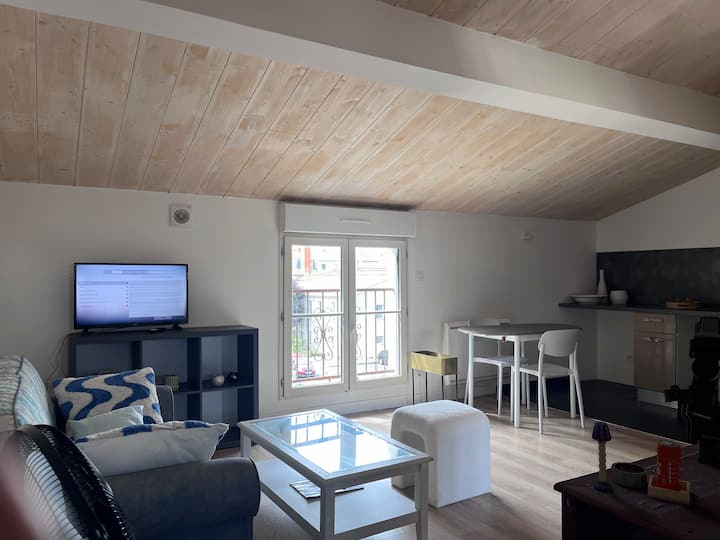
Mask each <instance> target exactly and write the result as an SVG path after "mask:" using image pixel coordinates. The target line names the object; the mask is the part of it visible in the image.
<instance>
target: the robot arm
mask: <svg viewBox="0 0 720 540" xmlns="http://www.w3.org/2000/svg"><path fill="white" fill-rule="evenodd" d="M688 351H689V352H688V358H689V359H694V360H693V361H692V363H691V371H692V373H693V374H692V378H691V383H690V384H689V385H688V386H687V388H681V387H680V386H679V385H678V384H673V385H670V386H669V389H663V396H664V397H663V398H664V402H665V403H672V402H684V404H682V405H681V410H680V412H681V416H683V418H684V420H685V421H686V442H687V443H688V444H692V445H694V446H695V445H697V444H698V445H697V446H698V447H697V448H698V451H697V453H696V462H698V463H702V464H703V463H705V464H711V465H716V466H720V406H719V383H720V317H719V316H715V315H714V316H713V315H710V316H709V315H703V316H700V318H699V321H697V322H695V324H694V334H693V338H690V341H689V350H688Z"/></svg>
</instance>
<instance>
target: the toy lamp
mask: <svg viewBox="0 0 720 540" xmlns="http://www.w3.org/2000/svg"><path fill="white" fill-rule="evenodd" d="M591 439H592V440H594V441H597V444H598V447H597V449H598V453H597V454H598V469H599V470H598V475H599V476H598V480H597V481H596V482H595V483H594V485H593V488H594V489H595V490H596V491H599V492H602V491H603V492H604V493H610V492H612V491H613V486H612V485H611V484H610V483H611V482H609V481H607V479H608V478H607V458H606V457H607V453H606V452H607V447H606V444H607V442H611V441H612V434H611V431H610V428H609V425H608V422H605V421H595V422H594V424H593V428H592V433H591Z"/></svg>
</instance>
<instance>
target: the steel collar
mask: <svg viewBox="0 0 720 540" xmlns="http://www.w3.org/2000/svg"><path fill="white" fill-rule="evenodd" d="M648 470H649V469H648V468H646V467H645V466H643V465H640V464H637V463H633V462H626V461H624V462H623V461H617V462H613V463H612V464H611V466H610V479H611V481H612V482H614V483H615V484H617V485H619V486H622V487H627V488H628V487H629V488H633V489H634V488H637V489H639V488H640V489H641V488H642V489H643V488H645V487H648V484H649V480H648V478H649V476H648Z"/></svg>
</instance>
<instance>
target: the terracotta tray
mask: <svg viewBox="0 0 720 540" xmlns="http://www.w3.org/2000/svg"><path fill="white" fill-rule="evenodd" d="M690 485H691V482H690V481H686V480H682V479H681V490H680V491H674V490H669V489H664V488H658V487H657V475H653V474H650V475H649V480H648V483H647V497H649V498H653V499H658V500H663V501H668V502H674V503H678V504H684V505H691V504H690V503H691V501H690V499H691V498H690Z"/></svg>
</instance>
